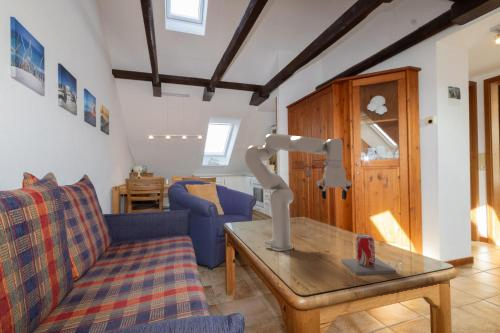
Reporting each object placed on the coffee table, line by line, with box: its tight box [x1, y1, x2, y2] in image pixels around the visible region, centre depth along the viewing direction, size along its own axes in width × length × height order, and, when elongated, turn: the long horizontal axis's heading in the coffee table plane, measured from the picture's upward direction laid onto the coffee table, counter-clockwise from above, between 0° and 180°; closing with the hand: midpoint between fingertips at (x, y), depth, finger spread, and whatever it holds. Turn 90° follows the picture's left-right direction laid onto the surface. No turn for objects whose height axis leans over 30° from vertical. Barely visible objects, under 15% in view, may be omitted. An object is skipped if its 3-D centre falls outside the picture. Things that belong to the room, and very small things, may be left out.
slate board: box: [341, 257, 397, 276], centre depth 103 cm, size 16×14×1 cm
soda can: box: [355, 233, 376, 266], centre depth 103 cm, size 7×7×12 cm
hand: (334, 199), depth 119 cm, fingers open, 9 cm apart
